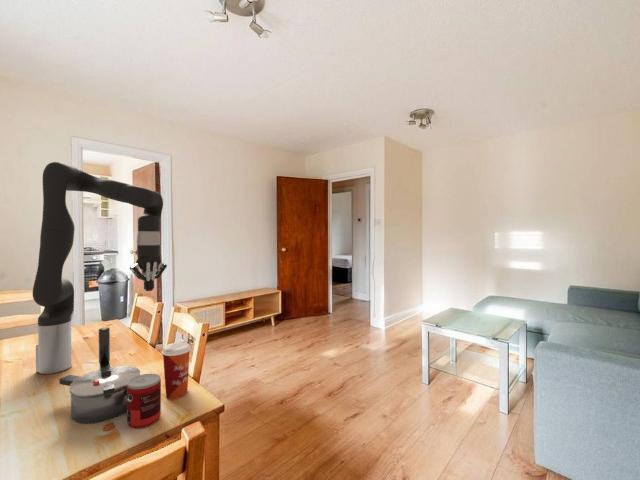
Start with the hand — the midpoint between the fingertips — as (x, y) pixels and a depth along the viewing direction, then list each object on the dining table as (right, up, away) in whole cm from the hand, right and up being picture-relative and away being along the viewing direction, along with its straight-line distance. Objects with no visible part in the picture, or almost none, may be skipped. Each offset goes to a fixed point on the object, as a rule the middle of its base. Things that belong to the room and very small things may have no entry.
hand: (149, 290), depth 113 cm
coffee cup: (+18, -30, -17) cm, 39 cm away
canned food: (+16, -30, -31) cm, 46 cm away
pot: (-1, -29, -24) cm, 38 cm away
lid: (+1, -22, -24) cm, 33 cm away
